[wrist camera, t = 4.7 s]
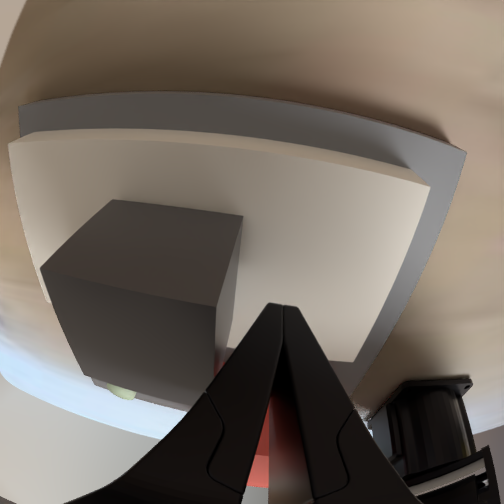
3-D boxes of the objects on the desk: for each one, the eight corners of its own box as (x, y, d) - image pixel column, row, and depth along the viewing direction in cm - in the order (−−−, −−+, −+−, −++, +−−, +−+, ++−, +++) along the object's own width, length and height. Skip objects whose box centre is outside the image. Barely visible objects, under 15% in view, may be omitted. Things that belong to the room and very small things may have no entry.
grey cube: (243, 216, 8) (216, 306, 5) (232, 319, 10) (212, 410, 7) (112, 199, 8) (39, 268, 5) (126, 299, 11) (84, 374, 8)
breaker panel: (451, 143, 9) (491, 167, 7) (325, 415, 19) (325, 448, 17) (36, 101, 9) (-9, 115, 7) (100, 373, 20) (86, 401, 17)
